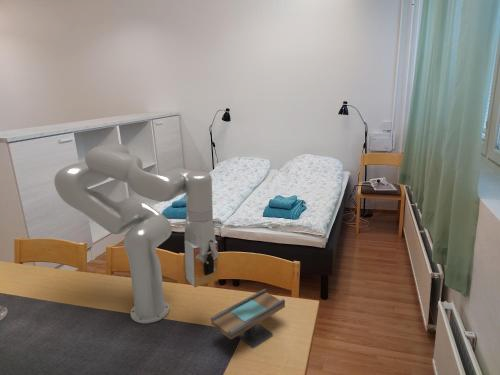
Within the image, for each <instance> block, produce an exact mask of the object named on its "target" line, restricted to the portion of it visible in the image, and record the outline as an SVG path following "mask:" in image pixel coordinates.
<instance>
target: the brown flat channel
mask: <svg viewBox="0 0 500 375" xmlns="http://www.w3.org/2000/svg"><path fill="white" fill-rule="evenodd" d="M284 308H286V299H283V298H282V299H281V300H280V299H279V298H277V297H275V295H274V296H273V295H272V294H271V293H268V292H267V289H266V288H263V289H261V290H260V291H257V292H256V293H254V294H252V295H250V296H248V297H246V298H245V299H243V300H240V301H239V302H237V303H235V304H233V305H231V306H229V307H227V308H226V309H223V310H222V311H220V312H218V313H216V314H214V315H213V316H211V317H210V320H211V324H210V325H211V326H212V327H213V328H215V329H216V330H218V332H221V334H223V335H224V336H225V337H227V338H228V339H229V340H233V339H235V338H236V337H237V336H238V335H240V334H241V333H243V332H245V331H246V330H248V329H250V328H251V327H253V326H254V325H256V324H258V323H259V324H260V323H261V322H263V321H264V320H266V319H267V318H269V317H271V316H272V315H274V314H276V313H277V312H279V311H282V309H284Z"/></svg>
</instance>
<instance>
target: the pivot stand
mask: <svg viewBox="0 0 500 375" xmlns="http://www.w3.org/2000/svg"><path fill="white" fill-rule="evenodd" d="M273 335H274V333H273V332H272V331H270V330H269V329H267V328H266V327H264V326H263V325H261V324H260V322H259V323H258V324H256V325H254V326H253V327H251V328H250V329H248V330H246V331H245V332H243V333H241V334H240V335H238V336H236V337H238V338H239V339H240V340H241V341H243V342H244V343H246V344H247V345H248V346H249V347H250V348H252V349H255V348H256V347H257V346H260V345H261V344H263V343H264V342H266V341H267V340H268V339H270V338H272V337H273Z"/></svg>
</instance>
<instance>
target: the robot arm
mask: <svg viewBox="0 0 500 375" xmlns="http://www.w3.org/2000/svg"><path fill="white" fill-rule="evenodd" d="M109 178H111V179H114V180H117V181H120V182H122V183H123V182H124V183H126V184H127V185H128V186H129V188H130V189H131V190H132V191H133V192H134V193H136V194H137V195H138V196H141V197H144V198H145V199H149V200H152V201H157V202H161V203H162V202H169V201H172V200H174V199H175V198H177V197H178V196H180V195H183V194H185V207H186V208H185V209H186V216H185V217H186V218H185V222H184V223H185V224H184V242H185V241H186V240H187V241H189V242H191V243H193V244H194V245H196V246H197V247H198V254H199V255H201V256H203V257H204V260H205V263H204V275H205V276H206V275H209V274H211V273H213V272H214V261H215V259H216V258H217V257H218V258H219V256H220V255H219V254H220V253H219V251H218V252H217V250H216V248H215V246H216V243H215V241H216V231H215V225H214V220H213V218H214V216H213V215H214V212H213V211H214V210H213V181H212V180H213V178H212V175H211V174H210V173H209V172H206V171H201V170H200V171H198V170H197V171H193V170H189V169H187V168H182V167H177V168H173V169H171V170H169V171H166V172H163V173H161V174H160V175H159V174H154V173H152V172H148V171H145V170H143V160H141V158H140V157H138V156H137V155H133V154H130V151H129V149H128V148H127V147H126V146H125V145H124V144H122V143H119V142H112V143H111V142H110V143H106V144H103V145H99V146H95V147H93V148H91V149H90V150H89V151H88V152H87V153H86V155H85V158H84V161H80V162H77V163H72V164H69V165H67V166H65V167H63V168H61V169H59V170H58V171H57V172H56V174H55V177H54V182H53V183H54V187H55V190H56V192H57V194H58V196H59V197H60V198H61V199H62V201H64V203H66V204H67V205H69V206H70V207H71V208H73V209H75V210H76V211H79V212H80V213H82V214H84V215H85V216H87V217H88V218H89V219H90V220H92V221H93V222H95V223H96V224H98V225H99V226H100V227H102V228H103V229H104V230H105V231H107V232H109V233H110V234H112V235H120V234H123V233H125V232H126V231H127V232H126V233H125V235H124V238H123V246H124V249H125V252H126V256H127V259H128V263H129V269H130V270H129V271H130V275H131V276H130V277H131V285H132V286H131V287H132V293H133V294H132V296H133V303H134V306H132V308H131V310H130V318H131V320H132V321H134V322H136V323H139V324H152V323H157V322H159V321H161V320H163V319H164V318H165V317H167V315H168V314H169V312H170V305H169V303H168V302H167V301H166V300H165V298H164V287H163V276H162V266H161V260H160V258H159V256H158V254H157V252H156V249H157V248H158V247H159V246H160V245H162V244H163V243H164V242H165V241H167V240H168V239H169V238H170V236H171V235H172V232H173V228H172V225H171V222H170V220H169V219H168V218H167V217H166V216H165V215H164V214H162V213H160V212H159V211H157V209H155V208H154V207H152V206H150V205H149V204H148V203H146V202H145V201H144V200H141V199H140V198H136V197H128V198H124V199H122V200H120V201H114V200H113V199H111V198H109V197H108V196H106V194H104V193H102V192H99V191H96V190H93V189H89V188H90V187H93V186H95V185H98V184H101V183H102V182H105V181H107V180H108V179H109ZM208 249H210V251H209V252H208ZM208 254H210V257H209V258H208V257H207V255H208Z"/></svg>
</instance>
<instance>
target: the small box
mask: <svg viewBox="0 0 500 375" xmlns="http://www.w3.org/2000/svg"><path fill="white" fill-rule="evenodd" d="M215 243H216V246H215V248H216V250H217V252H218V253H219V250H218V241H217V240H215ZM209 251H210V249H208V252H209ZM184 254H185V255H184V256H185V276H186V277H185V278H186V280H187V282H189V284H191V285H192V286H193V288H197V287H199V286H200V287H201V286H203V285H206V284H209V283H213V282H217V281H219V278H218V277H219V276H218V275H219V272H218V271H219V266H218V263H219V261H218V258H219V256H218V257H217V258H216V259H215V261H214V272H213V273H211V274H209V275H206V276H205V275H204V263H205V260H204V257H203V256H201V255H199V254H198V247H197V246H196V245H194V244H193V243H191V242H189V241H187V240H186V241H185V240H184ZM207 257H208V258H209V257H210V254H208V255H207Z"/></svg>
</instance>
